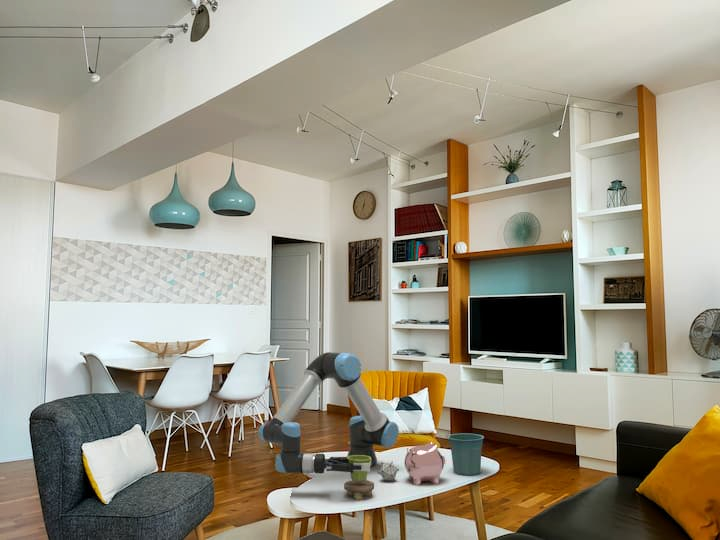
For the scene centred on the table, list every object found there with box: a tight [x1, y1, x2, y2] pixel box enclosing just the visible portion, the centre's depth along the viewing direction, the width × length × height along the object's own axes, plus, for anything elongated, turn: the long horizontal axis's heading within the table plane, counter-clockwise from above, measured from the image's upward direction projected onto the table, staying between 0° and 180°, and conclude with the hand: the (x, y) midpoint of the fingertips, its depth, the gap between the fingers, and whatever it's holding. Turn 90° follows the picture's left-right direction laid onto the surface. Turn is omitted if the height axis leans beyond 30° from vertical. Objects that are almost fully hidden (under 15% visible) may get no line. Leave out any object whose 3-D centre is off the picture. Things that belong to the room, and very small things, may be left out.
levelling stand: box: [343, 479, 375, 501], centre depth 219 cm, size 12×12×4 cm
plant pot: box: [346, 455, 371, 482], centre depth 220 cm, size 9×9×9 cm
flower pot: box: [447, 432, 485, 476], centre depth 254 cm, size 16×16×16 cm
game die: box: [377, 461, 400, 483], centre depth 240 cm, size 9×8×10 cm
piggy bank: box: [404, 440, 446, 486], centre depth 240 cm, size 15×18×16 cm
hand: (370, 464), depth 219 cm, fingers closed on plant pot, 8 cm apart
